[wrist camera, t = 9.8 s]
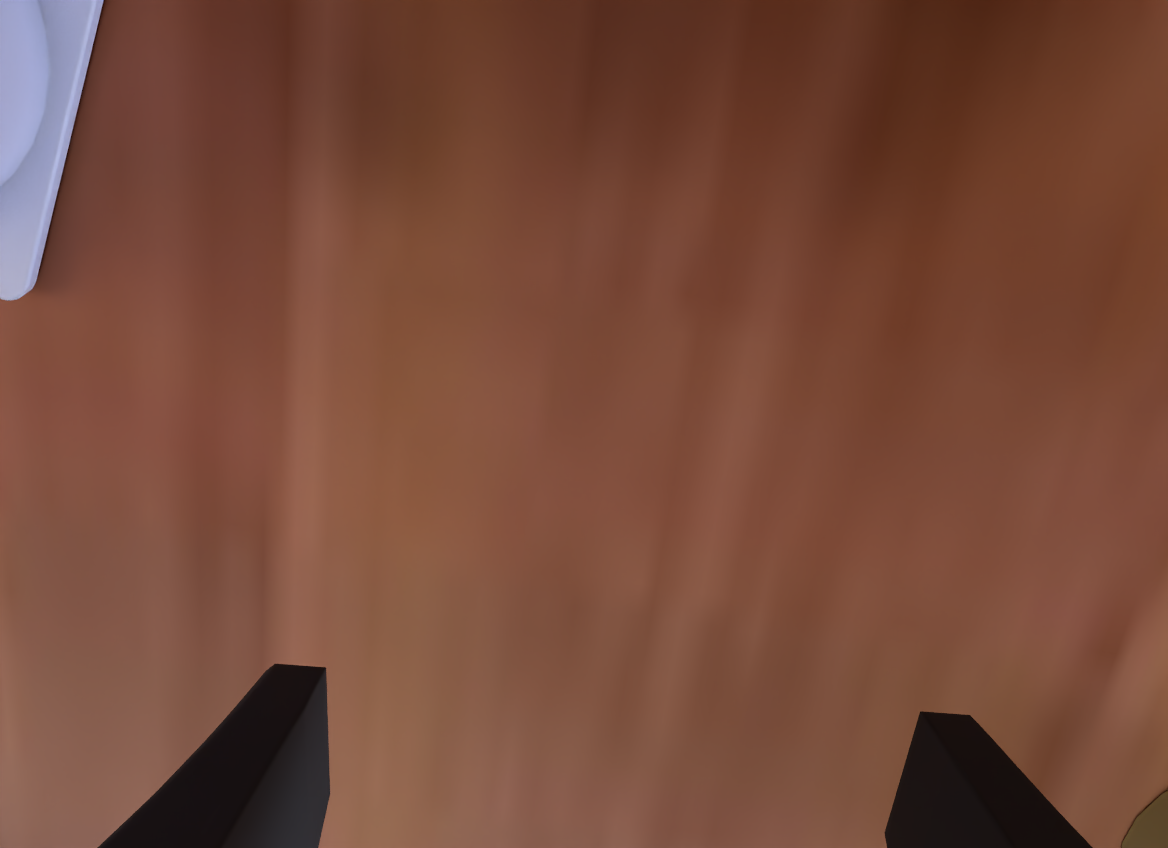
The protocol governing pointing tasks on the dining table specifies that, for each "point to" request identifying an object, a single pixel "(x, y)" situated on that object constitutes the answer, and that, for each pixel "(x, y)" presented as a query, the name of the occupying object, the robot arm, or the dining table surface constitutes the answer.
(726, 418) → the dining table surface
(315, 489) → the dining table surface
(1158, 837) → the cork
